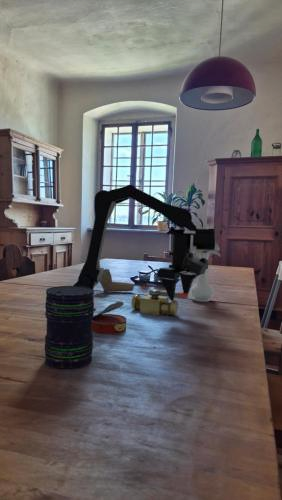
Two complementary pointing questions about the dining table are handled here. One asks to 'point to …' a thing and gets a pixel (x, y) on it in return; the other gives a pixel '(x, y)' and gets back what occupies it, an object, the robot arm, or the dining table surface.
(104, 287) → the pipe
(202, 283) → the flower vase
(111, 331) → the canned food
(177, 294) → the lever
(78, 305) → the storage jar
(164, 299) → the valve
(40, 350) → the dining table surface
